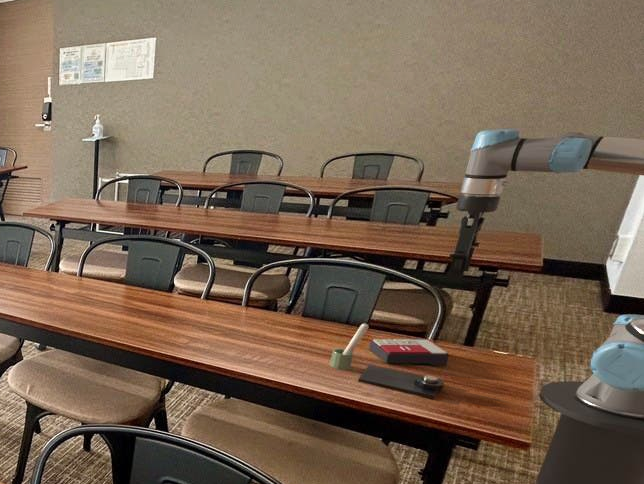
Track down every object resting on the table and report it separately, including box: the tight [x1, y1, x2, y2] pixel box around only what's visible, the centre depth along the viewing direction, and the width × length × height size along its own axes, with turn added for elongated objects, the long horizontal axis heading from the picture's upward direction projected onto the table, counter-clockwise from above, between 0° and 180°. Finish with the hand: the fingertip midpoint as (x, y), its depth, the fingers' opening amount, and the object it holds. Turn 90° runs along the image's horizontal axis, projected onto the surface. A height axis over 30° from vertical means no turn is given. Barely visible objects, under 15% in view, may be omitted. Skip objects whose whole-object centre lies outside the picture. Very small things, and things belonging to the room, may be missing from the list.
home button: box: [423, 374, 439, 384], centre depth 153 cm, size 3×3×1 cm
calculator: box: [368, 338, 450, 367], centre depth 171 cm, size 11×4×15 cm
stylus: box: [343, 323, 370, 355], centre depth 165 cm, size 2×2×15 cm
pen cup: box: [329, 348, 354, 371], centre depth 168 cm, size 5×5×5 cm
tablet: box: [357, 364, 445, 400], centre depth 157 cm, size 17×12×2 cm
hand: (457, 276), depth 151 cm, fingers open, 13 cm apart
